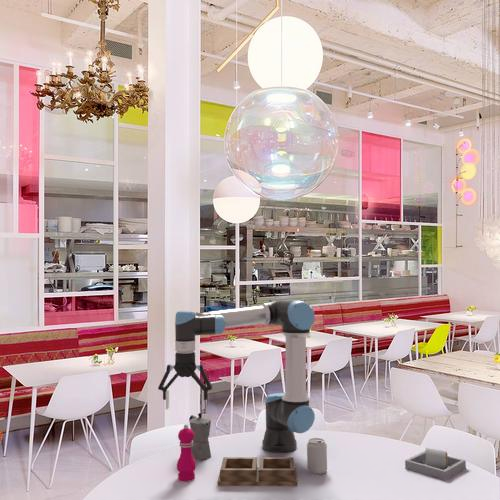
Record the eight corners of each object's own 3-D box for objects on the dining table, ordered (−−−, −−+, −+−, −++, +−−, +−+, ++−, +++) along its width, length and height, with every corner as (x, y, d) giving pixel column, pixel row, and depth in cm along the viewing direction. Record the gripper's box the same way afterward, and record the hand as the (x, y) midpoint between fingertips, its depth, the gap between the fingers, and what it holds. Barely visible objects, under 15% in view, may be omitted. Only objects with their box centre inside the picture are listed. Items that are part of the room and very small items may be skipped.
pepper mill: (192, 482, 193) (192, 427, 194) (174, 481, 194) (173, 426, 195) (198, 475, 200) (198, 422, 201) (180, 474, 201) (180, 421, 202)
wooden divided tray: (296, 471, 202) (295, 456, 203) (297, 486, 188) (297, 470, 189) (221, 471, 204) (221, 456, 204) (217, 486, 190) (217, 470, 190)
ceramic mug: (448, 473, 198) (448, 453, 198) (425, 471, 200) (425, 451, 201) (446, 464, 208) (445, 444, 209) (424, 462, 210) (424, 442, 211)
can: (323, 476, 197) (323, 444, 198) (304, 473, 200) (304, 441, 201) (329, 469, 204) (328, 438, 204) (311, 466, 207) (310, 435, 208)
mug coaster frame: (426, 457, 215) (426, 450, 215) (465, 468, 203) (465, 460, 203) (405, 468, 204) (405, 460, 204) (445, 480, 192) (445, 471, 192)
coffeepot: (218, 458, 217) (217, 414, 218) (198, 463, 212) (197, 418, 213) (199, 448, 230) (199, 407, 231) (180, 453, 225) (180, 410, 225)
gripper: (150, 353, 196) (150, 411, 195) (217, 353, 195) (217, 411, 194) (154, 350, 203) (154, 405, 202) (219, 350, 202) (219, 406, 201)
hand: (185, 408), depth 198 cm, fingers open, 13 cm apart
